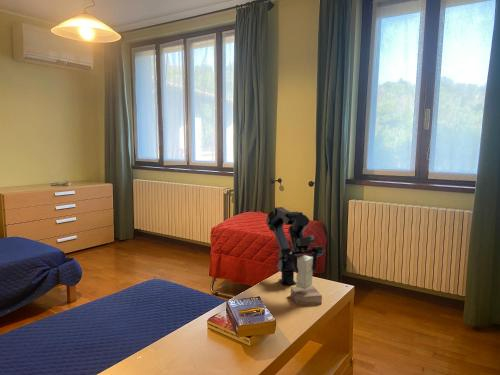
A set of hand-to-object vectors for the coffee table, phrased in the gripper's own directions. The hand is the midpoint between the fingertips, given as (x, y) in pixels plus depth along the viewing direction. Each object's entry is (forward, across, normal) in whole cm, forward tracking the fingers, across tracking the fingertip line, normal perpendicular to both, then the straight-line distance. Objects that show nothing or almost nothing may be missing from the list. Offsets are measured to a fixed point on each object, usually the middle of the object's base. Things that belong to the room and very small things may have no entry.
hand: (306, 271), depth 155 cm
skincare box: (+4, 0, +6) cm, 7 cm away
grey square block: (+8, +1, +11) cm, 14 cm away
